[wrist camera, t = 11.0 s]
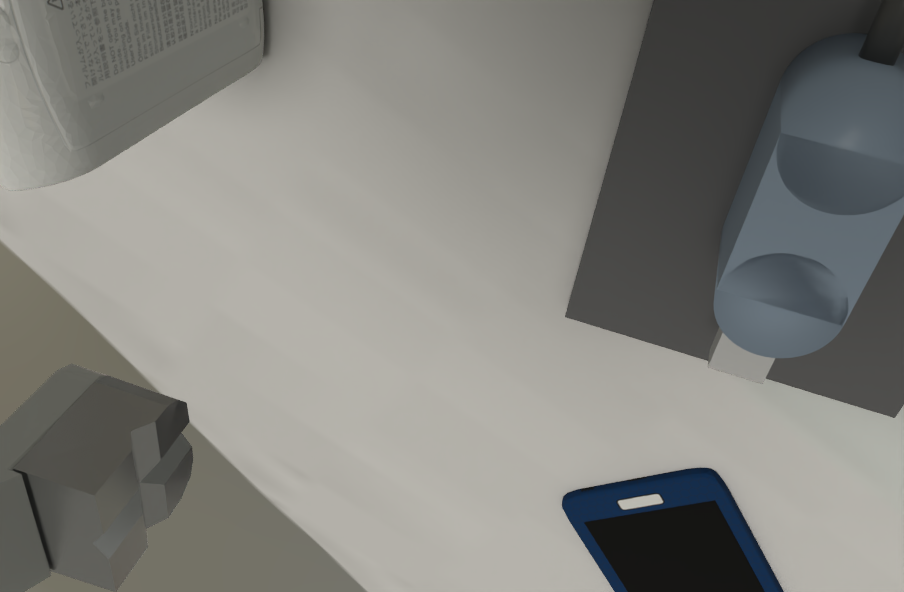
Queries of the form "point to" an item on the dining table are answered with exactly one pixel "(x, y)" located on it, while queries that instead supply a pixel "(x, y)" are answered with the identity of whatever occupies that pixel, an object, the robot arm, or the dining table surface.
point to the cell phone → (670, 535)
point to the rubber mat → (720, 192)
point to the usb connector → (814, 200)
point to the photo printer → (109, 76)
